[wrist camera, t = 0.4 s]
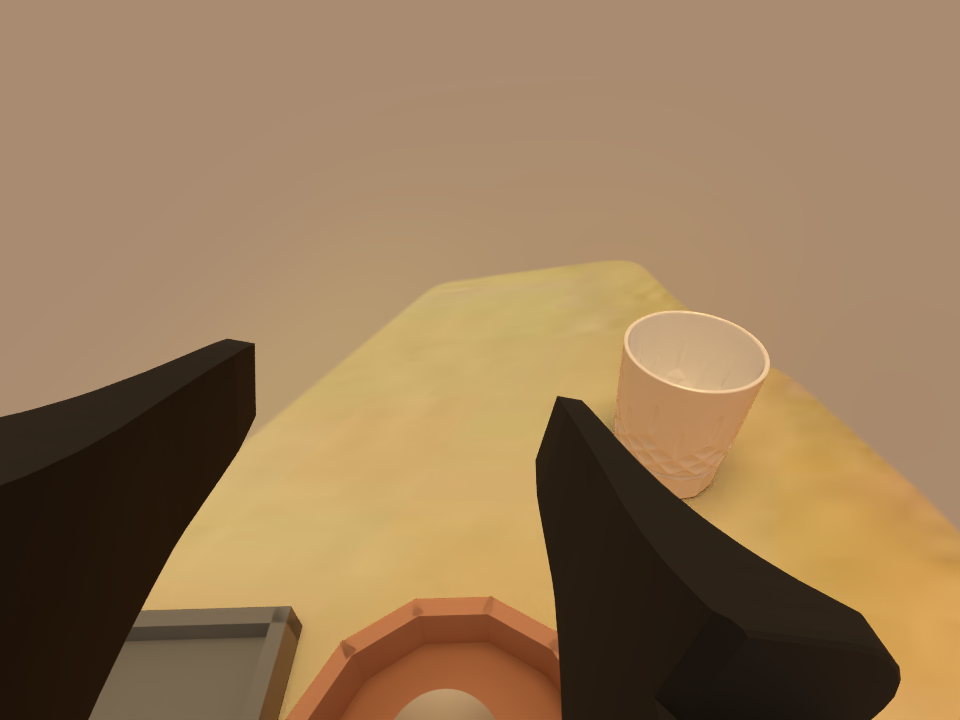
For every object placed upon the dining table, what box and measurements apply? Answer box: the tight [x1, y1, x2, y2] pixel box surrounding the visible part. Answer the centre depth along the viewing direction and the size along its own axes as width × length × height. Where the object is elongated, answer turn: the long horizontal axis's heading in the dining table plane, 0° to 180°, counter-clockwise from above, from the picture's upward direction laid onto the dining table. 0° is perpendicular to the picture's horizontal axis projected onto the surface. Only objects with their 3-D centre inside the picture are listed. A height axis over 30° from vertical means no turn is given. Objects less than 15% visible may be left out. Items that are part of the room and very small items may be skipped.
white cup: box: [614, 311, 770, 499], centre depth 32 cm, size 8×8×10 cm
